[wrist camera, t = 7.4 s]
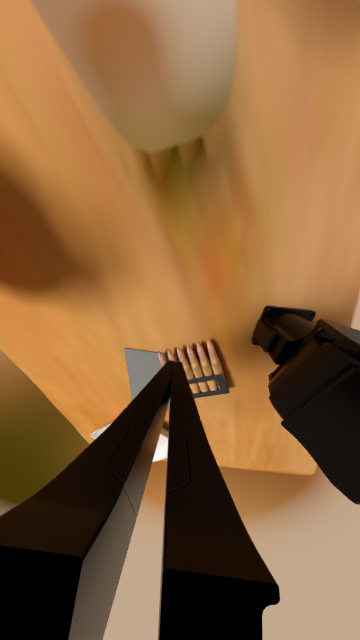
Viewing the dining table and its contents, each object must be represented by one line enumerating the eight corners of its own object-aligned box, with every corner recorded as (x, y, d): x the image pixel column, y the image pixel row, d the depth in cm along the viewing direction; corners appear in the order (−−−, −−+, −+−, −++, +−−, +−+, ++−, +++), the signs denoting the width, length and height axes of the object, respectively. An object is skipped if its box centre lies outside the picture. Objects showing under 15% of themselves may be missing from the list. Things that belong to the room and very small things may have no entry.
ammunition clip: (227, 384, 27) (213, 335, 22) (229, 393, 25) (215, 341, 20) (177, 392, 29) (155, 349, 24) (176, 400, 27) (152, 356, 23)
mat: (193, 356, 25) (192, 358, 24) (184, 412, 33) (184, 413, 33) (125, 347, 25) (124, 348, 25) (133, 403, 34) (133, 404, 34)
